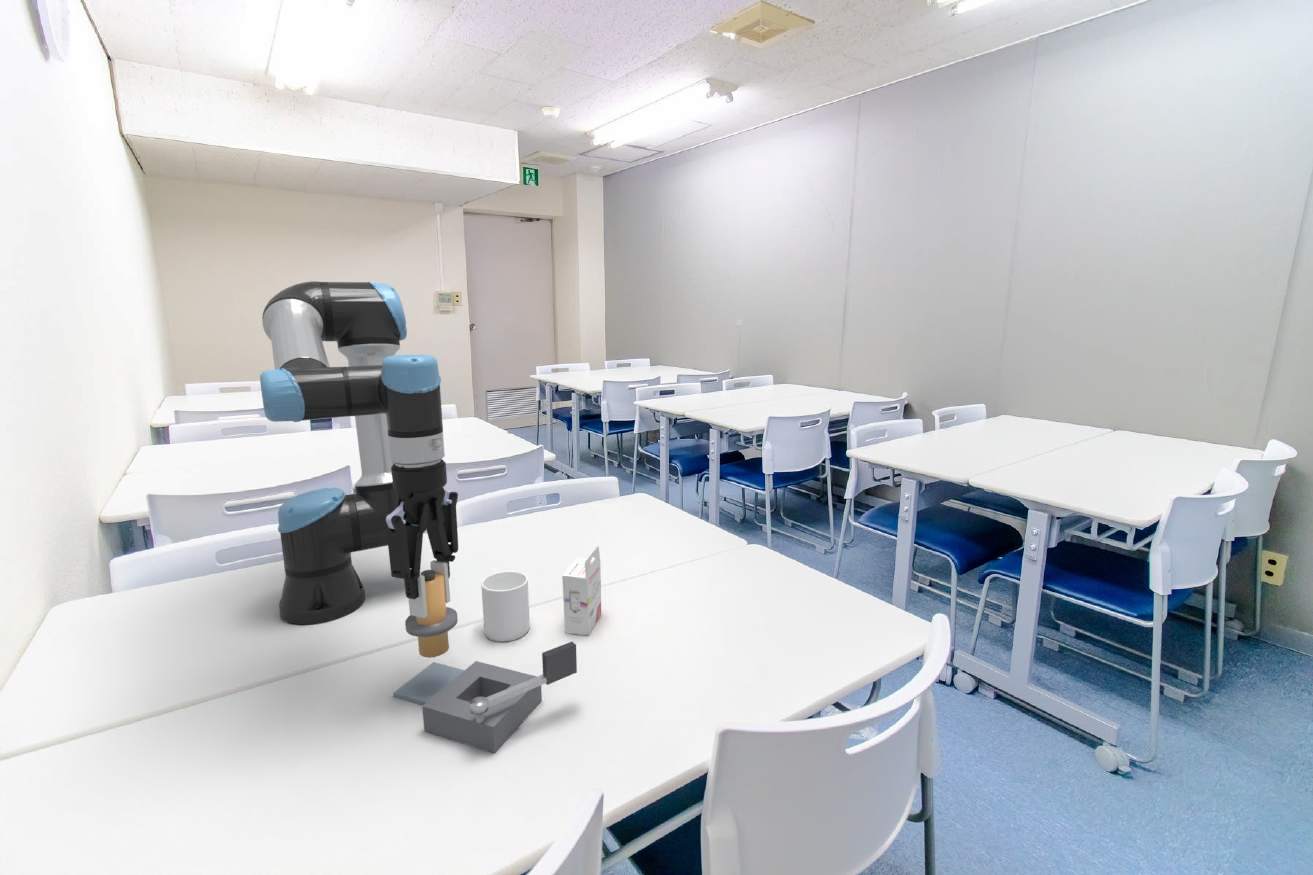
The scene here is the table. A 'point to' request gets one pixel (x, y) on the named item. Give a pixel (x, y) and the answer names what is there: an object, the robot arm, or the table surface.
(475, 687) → the socket block
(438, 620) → the plug
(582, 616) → the ink cartridge box
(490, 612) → the cup
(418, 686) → the mat
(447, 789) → the table surface
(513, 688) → the grey lever
